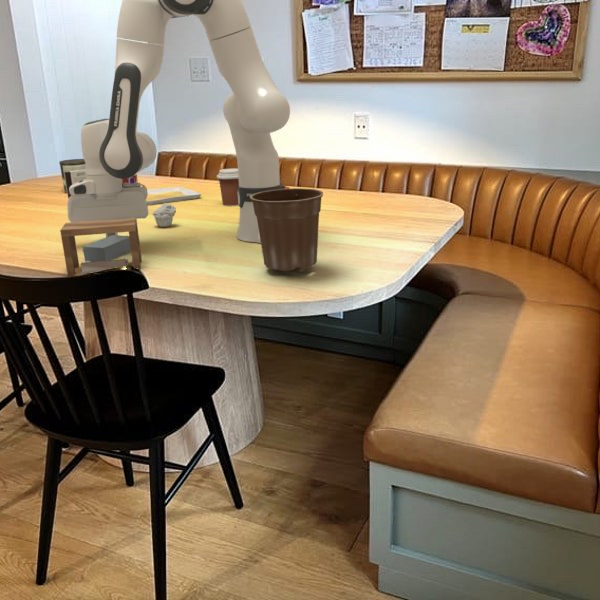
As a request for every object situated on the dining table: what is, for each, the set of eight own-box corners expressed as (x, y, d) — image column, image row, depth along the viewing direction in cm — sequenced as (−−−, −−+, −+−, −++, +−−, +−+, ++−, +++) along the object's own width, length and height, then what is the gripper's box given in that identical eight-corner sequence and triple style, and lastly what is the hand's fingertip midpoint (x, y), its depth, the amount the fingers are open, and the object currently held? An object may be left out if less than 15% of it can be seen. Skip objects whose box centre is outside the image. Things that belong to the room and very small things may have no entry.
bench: (72, 266, 150) (65, 222, 147) (141, 260, 153) (136, 217, 149) (67, 275, 143) (60, 230, 139) (140, 269, 146) (134, 224, 142)
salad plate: (203, 202, 226) (203, 192, 225) (147, 210, 215) (146, 200, 214) (179, 194, 243) (178, 185, 242) (125, 202, 232) (124, 192, 231)
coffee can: (59, 199, 241) (53, 161, 236) (82, 194, 249) (76, 158, 244) (76, 201, 235) (70, 162, 231) (98, 196, 243) (93, 159, 238)
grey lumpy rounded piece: (178, 228, 185) (175, 204, 183) (153, 230, 184) (150, 206, 182) (177, 224, 191) (175, 201, 188) (153, 226, 190) (151, 202, 187)
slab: (114, 250, 165) (112, 235, 164) (133, 251, 163) (132, 236, 162) (85, 262, 154) (82, 246, 153) (106, 264, 152) (103, 247, 151)
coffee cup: (248, 206, 214) (246, 170, 210) (222, 209, 211) (219, 172, 207) (241, 201, 222) (239, 167, 218) (216, 204, 219) (213, 169, 215)
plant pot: (242, 271, 141) (237, 199, 136) (271, 252, 155) (267, 187, 150) (310, 276, 136) (308, 201, 130) (334, 256, 150) (332, 188, 144)
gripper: (146, 180, 168) (152, 231, 172) (66, 185, 164) (74, 237, 169) (145, 183, 162) (151, 236, 167) (62, 189, 159) (70, 242, 163)
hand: (112, 237), depth 168 cm, fingers closed
